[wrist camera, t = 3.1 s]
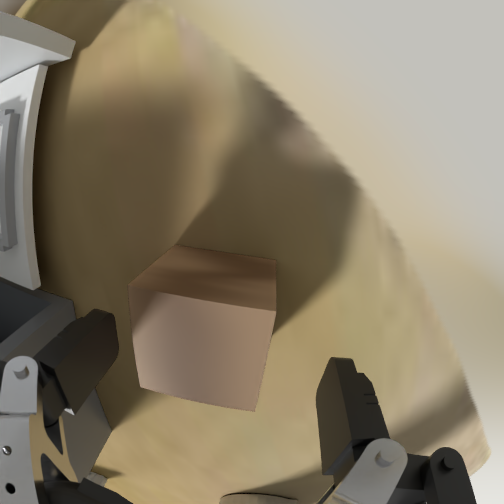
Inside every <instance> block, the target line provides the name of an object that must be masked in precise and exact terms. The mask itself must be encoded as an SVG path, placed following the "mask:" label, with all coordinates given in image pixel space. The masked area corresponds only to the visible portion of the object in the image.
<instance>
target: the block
mask: <svg viewBox="0 0 504 504" xmlns="http://www.w3.org/2000/svg"><path fill="white" fill-rule="evenodd" d="M128 299H129V311H130V321H131V330H132V338H133V346H134V353H135V359H136V366H137V372H138V377H139V383H140V387H142V388H145V389H149V390H152V391H156V392H159V393H163V394H167V395H170V396H174V397H178V398H183V399H187V400H191V401H196V402H200V403H205V404H210V405H216V406H221V407H227V408H233V409H239V410H246V411H254V412H255V409H256V405H257V401H258V396H259V392H260V387H261V383H262V378H263V374H264V369H265V365H266V360H267V355H268V351H269V346H270V341H271V336H272V331H273V326H274V321H275V316H276V260H273V259H266V258H260V257H253V256H246V255H239V254H232V253H226V252H219V251H212V250H206V249H199V248H192V247H186V246H179V245H174V246H173V247H172V248H170V249H169V250H168V251H167V252H166V253H164V254H163V255H162V256H161V257H160V258H158V259H157V260H156V261H155V262H154V263H152V264H151V265H150V266H149V267H148V268H147V269H145V270H144V271H143V272H142V273H141V274H140V275H138V276H137V277H136V278H135V279H134V280H133V281H131V282H130V283H129V284H128Z"/></svg>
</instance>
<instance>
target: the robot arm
mask: <svg viewBox="0 0 504 504" xmlns="http://www.w3.org/2000/svg"><path fill="white" fill-rule="evenodd" d="M118 351H119V344H118V338H117V331H116V323H115V317H114V315H113V314H112V313H109V312H105V311H102V310H99V309H93V310H92V311H91V312H90V313H89V314H87V315H86V316H85V317H84V318H83V317H81V318H79V319H77V320H75V321H72V322H71V323H70V324H68V325H67V326H66V327H65V328H64V329H63V331H61V332H59V333H58V334H57V336H56V337H54V338H53V339H52V340H51V341H50V342H49V343H48V344H46V345H45V346H44V347H43V348H42V349H41V350H40V351H39V352H38V353H37V354H36V355H35V356H34V357H33V358H31V357H28V356H18V357H15V358H13V359H11V360H10V361H9V362H5V361H1V360H0V504H133V503H131V502H130V501H128V500H127V499H125V498H124V497H122V496H121V495H119V494H118V493H116V492H114V491H111V490H109V489H107V488H105V487H103V486H101V485H98V484H96V483H94V482H92V481H90V480H88V479H87V478H85V477H84V478H83V480H82V481H81V483H78V480H77V478H76V475H75V472H74V470H73V468H72V466H71V464H70V462H69V458H68V453H67V447H66V441H65V435H64V427H63V419H62V416H61V414H62V412H63V411H64V410H65V411H67V412H69V413H71V414H73V415H76V413H77V412H78V410H79V409H80V408H81V406H82V405H83V403H84V402H85V401H86V399H87V398H88V396H89V395H90V394H91V392H92V391H93V389H94V388H95V387H96V385H97V384H98V383H99V381H100V380H101V379H102V377H103V376H104V374H105V373H106V372H107V370H108V369H109V368H110V366H111V365H112V364H113V362H114V361H115V360H116V358H117V355H118ZM375 394H376V393H375V391H374V388H373V385H372V382H371V381H370V380H369V379H368V378H367V377H366V376H365V374H364V373H357V371H356V368H355V364H354V361H353V360H352V359H351V358H338V357H331V358H330V360H329V362H328V364H327V366H326V369H325V371H324V374H323V376H322V379H321V381H320V383H319V386H318V389H317V393H316V408H317V417H318V427H319V437H320V449H321V461H322V474H323V475H334V483H333V484H332V485H331V486H330V487H329V489H328V490H327V491H326V492H325V493H324V495H323V496H322V497H321V498H320V499H319V500H318V502H317V503H316V504H426V502H427V504H477V503H476V500H475V496H474V492H473V489H472V486H471V482H470V479H469V476H468V473H467V470H466V467H465V464H464V461H463V458H462V456H461V455H460V454H459V453H458V452H457V451H456V450H454V449H452V448H449V447H443V448H439V449H437V450H436V451H435V452H434V453H433V454H432V455H431V456H421V455H413V454H408V453H406V451H405V449H404V447H403V446H402V445H401V444H399V443H398V442H396V441H394V440H392V439H390V437H389V434H388V430H387V427H386V424H385V421H384V418H383V415H382V411H381V408H380V405H378V403H379V402H378V399H377V396H375ZM219 504H298V500H291V499H285V498H282V497H277V496H270V495H260V494H236V495H228V496H224V497H222V498H221V499H220V502H219Z"/></svg>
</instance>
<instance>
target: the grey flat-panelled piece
mask: <svg viewBox="0 0 504 504" xmlns="http://www.w3.org/2000/svg"><path fill="white" fill-rule="evenodd" d="M75 43H76V41H74V40H72V39H70V38H68V37H66V36H64V35H61V34H59V33H57V32H55V31H52V30H50V29H48V28H45V27H43V26H40V25H38V24H35V23H33V22H30V21H27V20H25V19H22V18H19V17H16V16H13V15H10V14H7V13H4V12H1V11H0V277H2V278H5V279H7V280H9V281H12V282H14V283H16V284H19V285H21V286H24V287H26V288H29V289H31V290H35V289H36V288H38V287H40V286H41V282H40V277H39V270H38V264H37V256H36V248H35V239H34V226H33V207H32V173H33V154H34V142H35V133H36V125H37V118H38V111H39V105H40V100H41V95H42V90H43V85H44V81H45V77H46V73H47V69H48V67H47V66H50V65H53V64H56V63H58V62H61V61H64V60H67V59H70V58H71V56H72V52H73V49H74V46H75Z"/></svg>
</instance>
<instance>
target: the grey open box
mask: <svg viewBox="0 0 504 504" xmlns="http://www.w3.org/2000/svg"><path fill="white" fill-rule="evenodd" d="M75 320H76V316H75V311H74V306H73V301H72V300H69V299H66V298H63V297H60V296H57V295H54V294H51V293H48V292H45V291H43V290H40V289H37V288H36V289H35V290H31V289H29V288H26V287H24V286H21V285H19V284H16V283H14V282H12V281H9V280H7V279H5V278H2V277H0V360H1V361H5V362H9V361H10V360H11V359H13V358H15V357H18V356H28V357H31V358H33V357H34V356H35V355H36V354H37V353H38V352H39V351H40V350H41V349H42V348H43V347H44V346H45V345H46V344H48V343H49V342H50V341H51V340H52V339H53V338H54V337H56V336H57V334H58V333H59V332H61V331H63V329H64V328H65V327H66V326H67V325H68V324H70V323H71V322H72V321H75ZM61 416H62V419H63V427H64V435H65V441H66V447H67V453H68V458H69V462H70V464H71V466H72V468H73V470H74V472H75V475H76V478H77V480H78V483H81V481H82V480H83V478H84V477H85V478H87V477H88V475H89V473H90V471H91V469H92V467H93V465H94V463H95V462H96V460H97V458H98V456H99V454H100V452H101V450H102V449H103V447H104V445H105V443H106V441H107V439H108V438H109V436H110V434H111V432H112V430H111V428H110V426H109V423H108V421H107V418H106V416H105V413H104V411H103V408H102V406H101V403H100V400H99V398H98V395H97V392H96V389H95V388H94V389H93V391H92V392H91V394H90V395H89V396H88V398H87V399H86V401H85V402H84V403H83V405H82V406H81V408H80V409H79V410H78V412H77V413H76V415H73V414H71V413H69V412H67V411H65V410H64V411H63V412H62V414H61Z"/></svg>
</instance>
